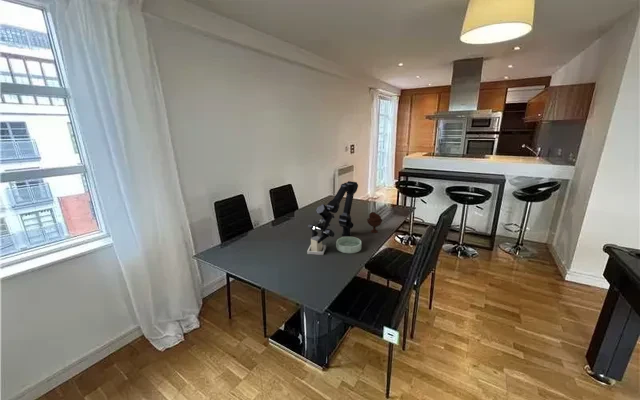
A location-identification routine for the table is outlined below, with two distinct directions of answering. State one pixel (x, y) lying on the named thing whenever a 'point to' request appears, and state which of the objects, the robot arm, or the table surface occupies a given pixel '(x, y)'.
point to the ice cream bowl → (374, 221)
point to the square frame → (316, 251)
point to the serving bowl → (348, 244)
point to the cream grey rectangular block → (316, 244)
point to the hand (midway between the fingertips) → (315, 242)
